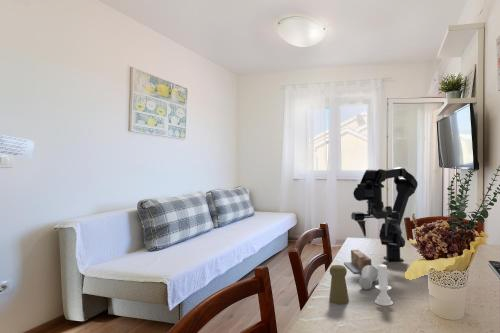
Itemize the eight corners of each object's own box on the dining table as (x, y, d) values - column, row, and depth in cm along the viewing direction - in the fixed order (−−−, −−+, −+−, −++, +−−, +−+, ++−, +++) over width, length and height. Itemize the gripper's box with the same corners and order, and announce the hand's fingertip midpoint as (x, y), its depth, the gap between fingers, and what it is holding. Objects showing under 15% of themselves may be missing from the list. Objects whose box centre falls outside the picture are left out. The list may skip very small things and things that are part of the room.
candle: (386, 307, 108) (385, 266, 108) (371, 302, 112) (369, 263, 112) (396, 302, 111) (395, 263, 111) (381, 298, 115) (380, 260, 115)
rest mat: (344, 263, 156) (344, 262, 156) (367, 263, 156) (367, 261, 156) (354, 273, 142) (353, 272, 142) (379, 272, 142) (379, 271, 142)
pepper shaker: (345, 305, 110) (344, 269, 110) (326, 302, 113) (325, 266, 113) (351, 299, 115) (350, 264, 115) (333, 296, 118) (331, 262, 118)
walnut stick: (351, 261, 157) (351, 250, 157) (358, 261, 157) (358, 249, 157) (363, 272, 141) (362, 259, 141) (371, 272, 141) (371, 259, 141)
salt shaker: (380, 277, 133) (376, 292, 121) (364, 279, 135) (358, 293, 124) (376, 262, 133) (371, 275, 121) (360, 263, 135) (354, 276, 124)
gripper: (358, 201, 144) (359, 240, 145) (405, 200, 145) (406, 239, 145) (350, 199, 156) (351, 235, 156) (393, 197, 156) (394, 234, 156)
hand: (375, 236), depth 153 cm, fingers open, 9 cm apart
